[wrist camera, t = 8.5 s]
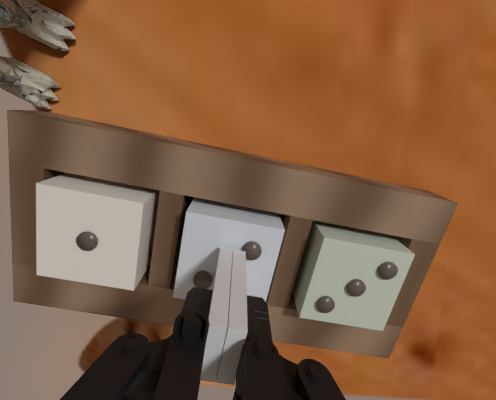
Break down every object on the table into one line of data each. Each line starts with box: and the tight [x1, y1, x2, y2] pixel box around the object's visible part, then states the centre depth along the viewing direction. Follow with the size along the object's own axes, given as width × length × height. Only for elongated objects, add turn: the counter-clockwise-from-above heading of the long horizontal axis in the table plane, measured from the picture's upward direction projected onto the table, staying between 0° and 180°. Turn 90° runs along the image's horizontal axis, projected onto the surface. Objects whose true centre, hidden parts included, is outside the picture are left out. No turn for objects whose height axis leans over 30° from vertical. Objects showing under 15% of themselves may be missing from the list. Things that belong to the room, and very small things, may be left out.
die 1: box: [36, 173, 160, 291], centre depth 19 cm, size 6×6×4 cm
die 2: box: [173, 197, 285, 302], centre depth 19 cm, size 6×6×4 cm
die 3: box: [292, 220, 415, 331], centre depth 20 cm, size 6×6×4 cm
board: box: [7, 110, 458, 359], centre depth 20 cm, size 28×13×3 cm, turn 78°
